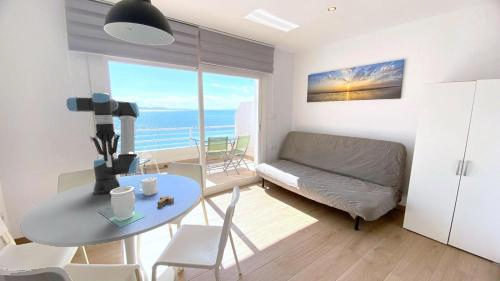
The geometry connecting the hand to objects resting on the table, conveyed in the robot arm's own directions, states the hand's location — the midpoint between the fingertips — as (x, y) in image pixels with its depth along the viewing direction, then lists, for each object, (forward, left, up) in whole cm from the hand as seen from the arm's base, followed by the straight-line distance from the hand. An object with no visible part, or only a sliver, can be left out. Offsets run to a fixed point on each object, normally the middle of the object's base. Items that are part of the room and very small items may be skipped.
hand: (109, 166), depth 110 cm
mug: (-7, +24, -25) cm, 35 cm away
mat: (+9, 0, -25) cm, 27 cm away
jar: (+14, 0, -25) cm, 29 cm away
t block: (+17, +20, -25) cm, 36 cm away
